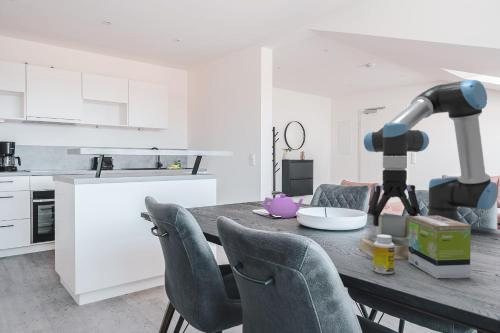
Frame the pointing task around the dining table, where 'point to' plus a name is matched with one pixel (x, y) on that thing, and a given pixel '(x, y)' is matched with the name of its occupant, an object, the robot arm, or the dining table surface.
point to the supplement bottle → (383, 255)
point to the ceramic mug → (395, 225)
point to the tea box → (440, 246)
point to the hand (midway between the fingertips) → (393, 235)
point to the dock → (399, 243)
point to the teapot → (282, 206)
